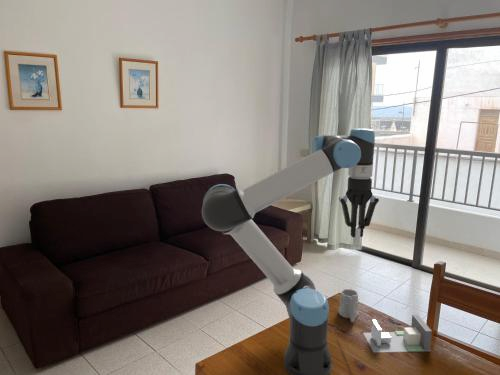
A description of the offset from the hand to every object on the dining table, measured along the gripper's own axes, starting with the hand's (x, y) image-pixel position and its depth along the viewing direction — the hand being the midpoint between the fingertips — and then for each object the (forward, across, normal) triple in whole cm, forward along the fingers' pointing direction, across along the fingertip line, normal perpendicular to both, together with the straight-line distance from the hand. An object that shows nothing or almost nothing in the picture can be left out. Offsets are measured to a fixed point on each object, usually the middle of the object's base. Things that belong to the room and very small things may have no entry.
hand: (356, 245), depth 129 cm
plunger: (+33, +9, -5) cm, 34 cm away
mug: (+35, +3, +12) cm, 37 cm away
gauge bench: (+34, +14, -5) cm, 37 cm away
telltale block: (+33, +20, -5) cm, 39 cm away
